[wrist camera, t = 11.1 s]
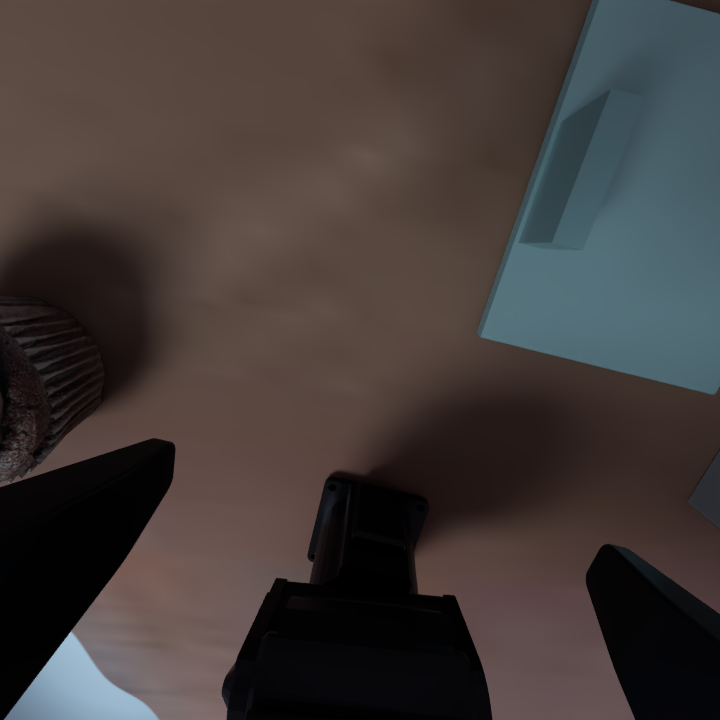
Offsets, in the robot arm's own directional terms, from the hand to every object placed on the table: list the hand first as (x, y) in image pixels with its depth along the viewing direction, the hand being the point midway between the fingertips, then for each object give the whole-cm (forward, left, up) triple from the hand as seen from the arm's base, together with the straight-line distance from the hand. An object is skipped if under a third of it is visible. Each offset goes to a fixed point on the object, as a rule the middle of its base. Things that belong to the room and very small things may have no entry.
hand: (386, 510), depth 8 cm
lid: (+9, -11, -13) cm, 19 cm away
